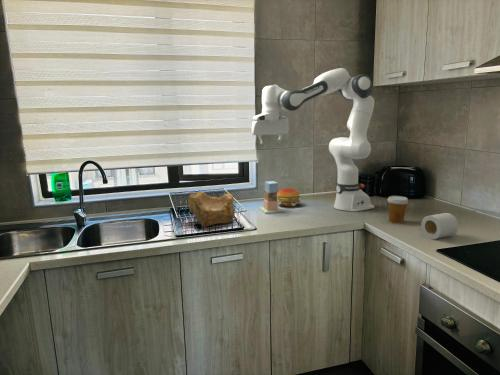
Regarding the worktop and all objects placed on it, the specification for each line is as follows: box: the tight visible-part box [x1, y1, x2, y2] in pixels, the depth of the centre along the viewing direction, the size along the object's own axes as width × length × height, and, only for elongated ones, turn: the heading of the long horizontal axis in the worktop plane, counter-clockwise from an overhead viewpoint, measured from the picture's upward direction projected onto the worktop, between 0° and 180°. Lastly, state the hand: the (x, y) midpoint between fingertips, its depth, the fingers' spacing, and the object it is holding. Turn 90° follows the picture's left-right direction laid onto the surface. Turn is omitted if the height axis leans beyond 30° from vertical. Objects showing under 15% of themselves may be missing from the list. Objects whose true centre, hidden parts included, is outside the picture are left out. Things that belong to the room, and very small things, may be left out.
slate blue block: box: [264, 180, 279, 193], centre depth 199 cm, size 5×6×5 cm
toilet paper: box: [420, 212, 459, 240], centre depth 158 cm, size 10×10×10 cm
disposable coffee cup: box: [386, 195, 409, 224], centre depth 179 cm, size 10×10×12 cm
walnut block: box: [263, 189, 278, 202], centre depth 201 cm, size 5×6×5 cm
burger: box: [277, 187, 301, 208], centre depth 213 cm, size 13×14×10 cm
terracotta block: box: [263, 198, 279, 211], centre depth 202 cm, size 6×6×5 cm
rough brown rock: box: [187, 191, 235, 228], centre depth 180 cm, size 23×17×15 cm
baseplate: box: [258, 206, 284, 215], centre depth 203 cm, size 10×10×1 cm
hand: (270, 143), depth 195 cm, fingers open, 8 cm apart
